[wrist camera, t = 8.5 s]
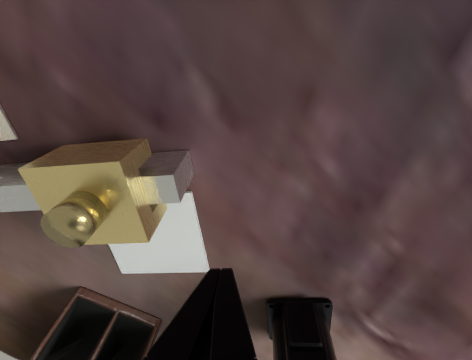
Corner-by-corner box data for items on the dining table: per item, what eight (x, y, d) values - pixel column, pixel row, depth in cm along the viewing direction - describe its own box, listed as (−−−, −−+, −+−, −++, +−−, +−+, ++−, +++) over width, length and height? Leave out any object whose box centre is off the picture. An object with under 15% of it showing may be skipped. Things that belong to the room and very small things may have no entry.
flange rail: (195, 180, 20) (173, 230, 14) (-41, 195, 22) (-133, 242, 17) (161, 23, 15) (108, 10, 9) (-138, 66, 17) (-311, 75, 12)
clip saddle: (167, 208, 19) (134, 267, 14) (94, 212, 20) (38, 269, 15) (146, 138, 16) (97, 179, 11) (63, 145, 17) (-18, 187, 12)
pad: (209, 269, 24) (209, 272, 24) (123, 271, 25) (122, 273, 25) (191, 190, 20) (190, 192, 20) (89, 196, 21) (87, 198, 21)
